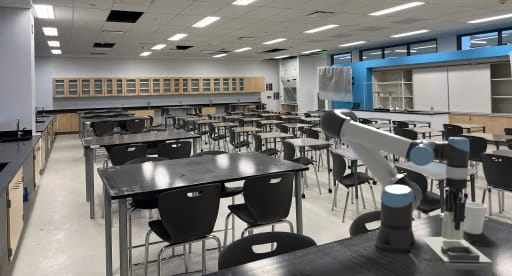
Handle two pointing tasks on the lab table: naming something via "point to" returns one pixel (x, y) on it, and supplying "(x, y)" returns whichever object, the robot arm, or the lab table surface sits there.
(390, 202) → the robot arm
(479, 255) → the board
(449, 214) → the plug
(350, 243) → the lab table surface
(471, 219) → the foam cup
